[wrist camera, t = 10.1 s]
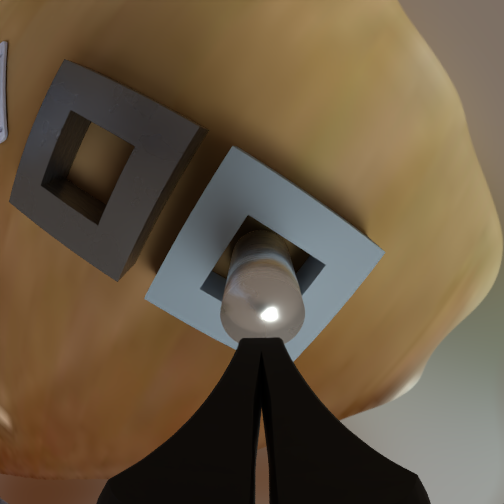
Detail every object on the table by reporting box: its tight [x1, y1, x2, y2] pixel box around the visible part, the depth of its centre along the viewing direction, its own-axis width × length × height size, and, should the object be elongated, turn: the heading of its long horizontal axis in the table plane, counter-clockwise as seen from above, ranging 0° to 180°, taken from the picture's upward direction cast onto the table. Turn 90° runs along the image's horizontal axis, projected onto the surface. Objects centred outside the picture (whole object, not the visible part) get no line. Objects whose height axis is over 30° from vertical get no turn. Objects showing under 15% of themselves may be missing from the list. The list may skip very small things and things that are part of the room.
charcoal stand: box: [9, 59, 209, 282], centre depth 16 cm, size 10×10×3 cm
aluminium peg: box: [220, 230, 305, 344], centre depth 16 cm, size 4×4×7 cm
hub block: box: [144, 146, 385, 361], centre depth 18 cm, size 10×10×3 cm
